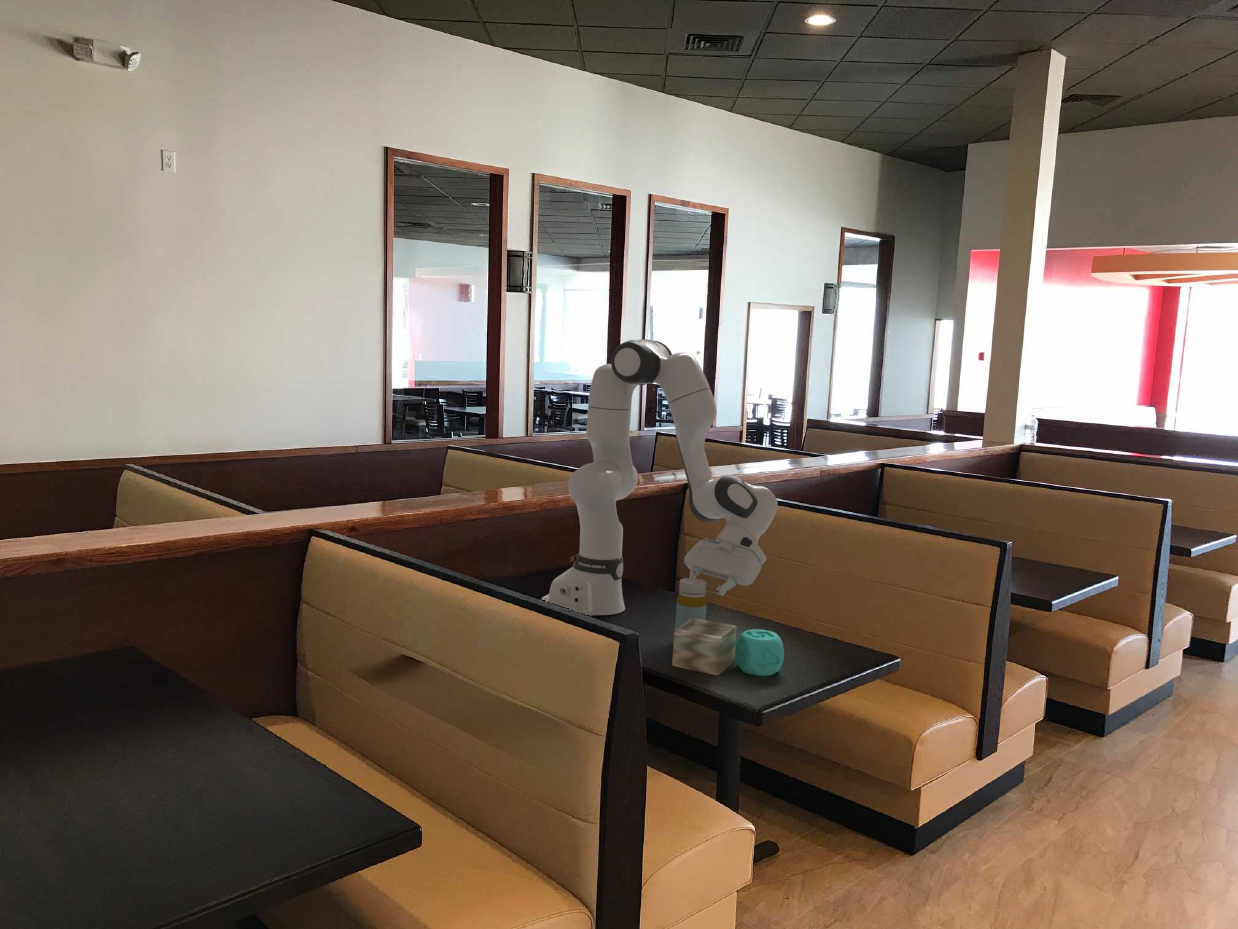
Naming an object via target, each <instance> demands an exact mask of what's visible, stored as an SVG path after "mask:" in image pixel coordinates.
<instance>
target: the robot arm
mask: <svg viewBox="0 0 1238 929" xmlns="http://www.w3.org/2000/svg"><path fill="white" fill-rule="evenodd" d="M653 383H655V384H657V385H658V386H659V387H660V389H662V391H663V394H664V397H665V399H666V401H667V405H668V407H669V410H670V411H669V412H670V414H671V417H672V421H673V424H674V428H675V436H676V442H677V448H678V451H679V455H680V458H681V461H682V462H681V463H682V466H683V470H684V474H685V477H686V481H687V484H688V505H689V509H690V511H691V513H692V515H693V516H694V517H695V518H696V519H698V520H699V521H701V522H703V523H707V524H709V523H715V522H718V521H720V520H721V519H723V518H724V519H725V521H726V524H725V526H724V527H723V528H722V530H721V531H720V533H719V534H718V535H717V537H716V538H711V537H706V538H703V539H700V540H699V541H698V542H696V544H694V546H693V547H692V548H690V550H689V551H688V552H687V554H685V556H684V559H683V562H684V564H685V566H686V567H687V568H688V569H689V570H690V571H689V572H690V573H689V577H688V578H696V579H697V576H699V575H700V574H701V573H702V574H704V575H707V576H710V577H714V578H718V579H722V580H724V581H725V582H724V583H722V585H721V584H718V586H717V588H716V589H715V593H716V594H717V595H718V596H721V597H724V595H725V594H726V593H727V591H730V590H731V589H733V588H734V587H735V586H736V585H737V584H738V585H740V586H741V585H742V586H745V587H749V586H751V585H752V584H753V583H754V581H755V580H756V579H757V577H758V575H759V574H760V571H761V570H762V565H764V564H765V563H766V561H767V557H766V555H765V553H764V552H763V550H762V549H761V547H760V546H759V545H758V542H759V539H760V537H761V536H762V535H763V534H765V533H766V531H767V530H768V528H769V527H770V525H771V523H772V521H773V520H774V518H775V516H776V514H777V511H778V506H779V505H778V499H777V497H776V496H775V494H774V493H773V492H772V491H771V490H770V489H769V488H767V487H765V486H764V485H753V484H750V483H748V482H746V481H743V479H742V478H740V477H739V476H736V475H734V474H732V475H731V474H727V475H723V476H720V477H718V478H715V479H714V477H713V476H712V472H711V469H710V466H709V461H708V458H707V454H706V451H705V441H706V438H707V434H708V432H709V430H710V428H711V427H712V426H713V424H714V422H715V421H716V416H717V407H716V401H715V398H714V395H713V392H712V390H711V386H710V384H709V382H708V379H707V377H706V375H705V373H704V371H703V369H702V367H701V366H700V364H699V362H698V360H697V359H696V357H695V356H693V355H692V354H691V353H688V352H676V353H673V354H672V351H671V350H670V348H669V347H668V346H667V345H666V344H664V343H662V342H660V341H659V340H652V339H645V338H641V339H637V340H636V339H630V340H627V341H624V342H622V343H620V344H619V345H618V346H617V347H616V348H615V349H614V350H613V352H612V355H611V359H610V363H606V364H603V365H601V366H599V367H597V368H596V369H595V371H594V373H593V376H592V380H591V384H590V388H589V396H588V403H587V406H588V407H587V418H586V430H585V432H586V439H587V440H588V442H589V443H590V446H591V450H592V451H591V452H592V457H593V462H590V463H586V464H583V465H582V466H580V467H578V469H576V470H575V471H574V472H572V474H571V475H570V477H569V479H568V483H567V489H568V493H569V495H570V497H571V498H572V500H573V502H575V505H576V509H577V513H578V518H579V526H580V529H579V530H580V531H579V552H578V553H576V554H574V555H573V556H571V557H570V560H569V562H573V564H572V567H570V568H568V569H567V570H566V571H564V572H563V573H562V574H560V575H559V576H557V577H556V578H554V579H553V580H552V582H551V584H550V589H549V593H548V594H546V595H545V596H542V598H541V599H542V600H545V601H546V602H550V603H553V604H556V605H559V606H562V607H565V608H569V610H573V611H575V612H579V613H583V614H585V615H589V616H590V617H591V616H609V615H616V614H620V613H622V612H624V611H625V610H626V607H625V602H624V597H623V586H622V579H623V578H622V577H623V573H624V572H623V571H624V555H622V554H623V553H622V552H623V536H624V528H623V524H622V523H621V522H620V520H619V515H618V513H617V512H618V511H617V505H616V504H617V501H619V500H620V501H621V500H622V499H625V498H627V497H628V496H629V495H630V494H632V492H634V490H636V488H637V487H638V483H639V482H638V481H639V475H638V471H637V468H636V467H635V466H634V465H633V464H634V463H633V459H632V452H631V446H630V445H631V444H630V430H631V414H632V401H633V400H632V399H633V394H634V391H635V389H636V387H638V386H645V385H649V384H653ZM589 616H588V617H589Z"/></svg>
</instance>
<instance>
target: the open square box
mask: <svg viewBox="0 0 1238 929" xmlns="http://www.w3.org/2000/svg"><path fill="white" fill-rule="evenodd" d="M737 627H738V626H737V625H733V624H727V623H723V622H715V621H711V620H707V619H706V620H701V619H696V618H691V619H690V620H688V621H687V622H685V623H684V624H682V625H681V626H679V627H677V628H676V629H675V628H674V629H673V630H674V631H673V644H672V646H673V647H672V648H673V649H672V661H671V664H672V665H671V666H673V667H676V668H682V669H685V670H690V671H695V672H699V673H704V674H709V675H713V676H719V675H720V674H722V673H723V672H724V671H725V670H726V669H727V668H729V667H730V666H731V665H732V664H733V663H734V662H735V656H736V643H737V640H736V639H737Z"/></svg>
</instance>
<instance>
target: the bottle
mask: <svg viewBox="0 0 1238 929" xmlns="http://www.w3.org/2000/svg"><path fill="white" fill-rule="evenodd" d="M678 588H679V589H678V590H679V594H678V596H677V599H676V610H675V611H676V612H675V626H674V627H675V628H674V629H676V628H677V627H679V626H681V625H682V624H684V623H685V622H687V621H688V620H690V619H691V618H696V619H701V620H707V617H706V616H707V606H708V605H707V603H708V602H707V598H706V595H707V594H706V592H707V581H706V580H704V579H702V578H701V579H700V578H697V577H696V578H689V577H686V578H685V577H683V578H681V579H680V581H679V587H678Z"/></svg>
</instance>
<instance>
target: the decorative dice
mask: <svg viewBox="0 0 1238 929" xmlns="http://www.w3.org/2000/svg"><path fill="white" fill-rule="evenodd" d="M784 649H785V648H784V643H783V641H782V639H781V637H780V635H778V634H777V633H776V632H774V631H770V630H766V629H757V628H753V629H751V628H750V629H748V630H745V631H743V632H742V633H741V634H740V635H739V636H738V637H737V640H736V642H735V656H736V661H737V665H738V667H739V669H740V670H741V671H742V672H743V673H746V674H748V675H752V676H757V677H768V676H769V677H770V676H773V675H775V674H776V673H777V672H778V671H780V670H781V668H782V666H783V664H784V660H785V659H784V658H785V650H784Z"/></svg>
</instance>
